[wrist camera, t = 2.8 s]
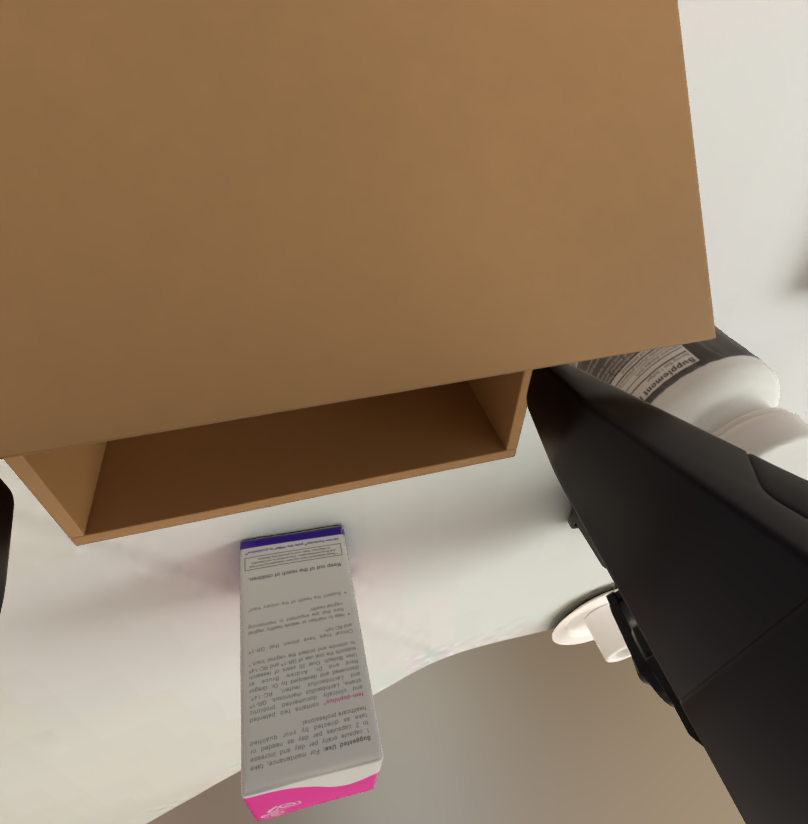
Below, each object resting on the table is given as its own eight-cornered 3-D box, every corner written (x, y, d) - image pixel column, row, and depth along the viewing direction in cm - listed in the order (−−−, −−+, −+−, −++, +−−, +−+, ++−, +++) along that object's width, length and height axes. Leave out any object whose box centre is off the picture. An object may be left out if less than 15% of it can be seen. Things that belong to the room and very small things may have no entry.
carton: (112, 403, 19) (75, 546, 14) (-143, -68, 10) (-457, -88, 5) (453, 350, 21) (515, 456, 17) (493, -56, 12) (645, -62, 8)
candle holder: (640, 564, 44) (671, 609, 41) (670, 593, 52) (698, 633, 49) (529, 626, 47) (550, 672, 44) (573, 645, 55) (594, 685, 52)
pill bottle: (675, 297, 23) (872, 446, 16) (591, 381, 25) (730, 542, 18) (610, 244, 20) (818, 399, 13) (522, 345, 22) (657, 521, 15)
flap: (-318, 511, 6) (-354, 518, 5) (-479, -70, 5) (-526, -98, 5) (702, 340, 8) (716, 338, 8) (657, -50, 8) (670, -67, 7)
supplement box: (235, 540, 26) (239, 801, 18) (344, 522, 28) (393, 756, 20) (246, 593, 30) (255, 828, 22) (342, 575, 31) (382, 789, 23)
